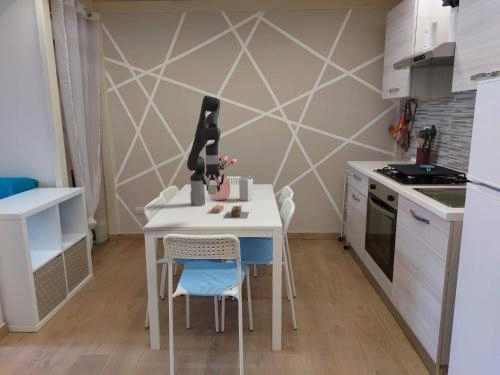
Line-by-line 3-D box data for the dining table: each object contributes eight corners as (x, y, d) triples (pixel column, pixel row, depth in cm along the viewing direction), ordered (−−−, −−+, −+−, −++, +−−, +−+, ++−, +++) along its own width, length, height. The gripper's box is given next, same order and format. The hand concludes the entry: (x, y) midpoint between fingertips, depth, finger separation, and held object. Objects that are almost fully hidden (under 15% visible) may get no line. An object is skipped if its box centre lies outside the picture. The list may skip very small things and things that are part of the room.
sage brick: (208, 194, 209) (207, 186, 208) (210, 191, 216) (209, 183, 215) (216, 194, 208) (216, 186, 207) (218, 191, 216) (218, 183, 215)
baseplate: (223, 220, 214) (223, 218, 214) (227, 214, 228) (227, 211, 227) (246, 221, 213) (246, 218, 212) (249, 214, 226) (249, 211, 226)
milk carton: (248, 201, 258) (247, 175, 254) (239, 200, 262) (239, 174, 258) (253, 199, 264) (252, 173, 260) (245, 198, 268) (244, 172, 264)
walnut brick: (231, 216, 216) (231, 209, 215) (233, 213, 224) (233, 206, 223) (239, 216, 216) (239, 209, 215) (241, 213, 223) (241, 206, 222)
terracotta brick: (212, 215, 226) (211, 208, 225) (216, 211, 234) (216, 205, 233) (219, 215, 225) (219, 208, 224) (223, 212, 233) (223, 205, 232)
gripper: (198, 163, 206) (199, 193, 209) (223, 163, 204) (224, 193, 208) (201, 161, 213) (203, 190, 217) (225, 161, 211) (226, 190, 215)
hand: (213, 191), depth 212 cm, fingers closed on sage brick, 5 cm apart
